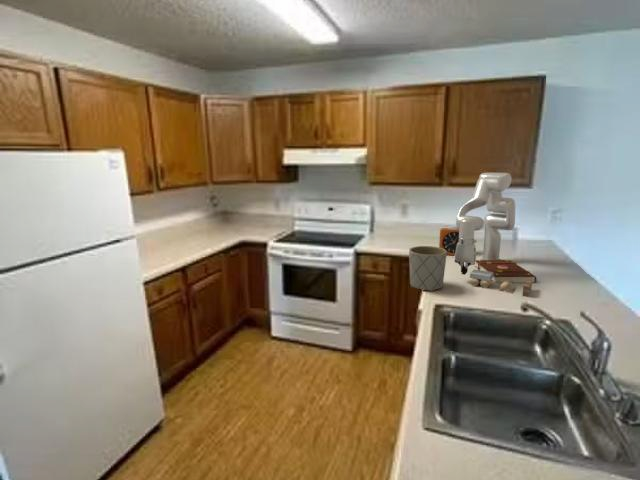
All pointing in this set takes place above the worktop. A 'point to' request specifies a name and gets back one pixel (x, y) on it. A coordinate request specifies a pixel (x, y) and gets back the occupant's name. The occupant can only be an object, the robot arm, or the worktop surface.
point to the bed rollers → (484, 283)
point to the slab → (481, 275)
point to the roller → (505, 285)
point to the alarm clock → (449, 239)
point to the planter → (427, 267)
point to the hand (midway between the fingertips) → (463, 273)
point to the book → (505, 271)
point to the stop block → (527, 288)
